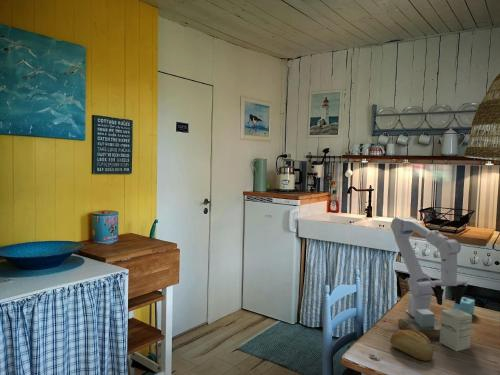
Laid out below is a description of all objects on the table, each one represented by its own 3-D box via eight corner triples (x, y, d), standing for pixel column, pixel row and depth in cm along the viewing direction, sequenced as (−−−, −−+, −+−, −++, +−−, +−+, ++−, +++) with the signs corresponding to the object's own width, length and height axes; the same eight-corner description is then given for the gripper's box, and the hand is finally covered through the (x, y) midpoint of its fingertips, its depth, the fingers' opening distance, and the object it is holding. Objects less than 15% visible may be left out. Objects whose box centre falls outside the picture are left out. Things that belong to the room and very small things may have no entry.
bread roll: (398, 341, 147) (399, 320, 146) (438, 357, 136) (440, 335, 135) (384, 349, 141) (385, 327, 140) (425, 366, 129) (427, 343, 129)
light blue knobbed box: (465, 320, 167) (467, 303, 166) (450, 316, 171) (451, 299, 170) (474, 313, 175) (476, 296, 175) (460, 309, 179) (461, 293, 179)
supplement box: (438, 342, 146) (440, 309, 145) (453, 339, 149) (455, 307, 148) (456, 352, 139) (458, 317, 138) (470, 348, 142) (473, 314, 141)
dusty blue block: (414, 321, 158) (415, 309, 157) (426, 321, 158) (427, 308, 158) (421, 326, 153) (422, 314, 152) (433, 326, 153) (434, 313, 153)
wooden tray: (398, 325, 161) (398, 318, 160) (432, 323, 163) (432, 316, 162) (414, 338, 149) (414, 331, 149) (450, 337, 151) (451, 329, 151)
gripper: (437, 273, 152) (437, 307, 152) (472, 272, 153) (472, 306, 154) (427, 268, 159) (427, 302, 159) (461, 267, 160) (460, 300, 161)
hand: (448, 303), depth 157 cm, fingers open, 7 cm apart
